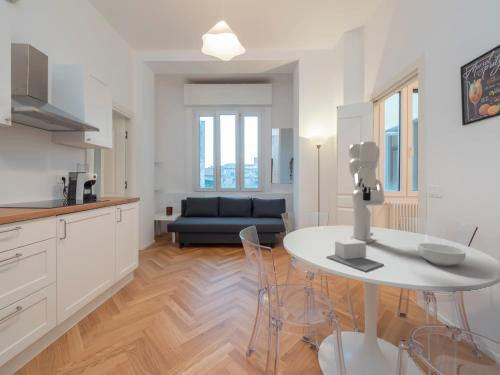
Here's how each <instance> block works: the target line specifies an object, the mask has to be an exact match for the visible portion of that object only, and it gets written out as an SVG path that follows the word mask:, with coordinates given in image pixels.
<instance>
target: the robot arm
mask: <svg viewBox="0 0 500 375" xmlns="http://www.w3.org/2000/svg"><path fill="white" fill-rule="evenodd" d="M380 154H381V153H380V148H379V146H377V144H376V142H375V141H362V142H361V143H354V144H350V146H349V147H348V156H349V158H351V160H350V161H349V163H348V169H349V173H350V176H351V177H352V179H353V188H354V191H353V192H352V195H351V196H352V197H351V198H352V204H353V224H352V225H353V228H352V230H353V231H352V232H353V233H352V236H350V240H352V239H357V240H360V241H363V242H366V244H367V243H368V244H371V243H372V242H373V241H374V239H373V238H372V237H373V236H374V233H373V232H371V215H372V214H371V211H370V210H369V208H368V207H367V206H377V207H378V206H382V205H384V203H385V194H384V188H383V184H382V181H381V180H379V179H377V175H376V174H377V173H376V169H377V168H378V164H379V159H380Z"/></svg>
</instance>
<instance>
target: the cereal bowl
mask: <svg viewBox="0 0 500 375" xmlns="http://www.w3.org/2000/svg"><path fill="white" fill-rule="evenodd" d="M417 247H418V248H417V249H418V251H417V252H418V254H419V255H420V256H421V257H422V258H423V259H425V260H427V261H429V262H430V263H431V264H433V265H437V266H441V267H451V266H454V265H455V266H456V265H459V264H462V263H463V262H464V261H465V259H466V254H467V252H466V251H465V250H464V249H461V248H459V247H455V246H452V245H447V244H441V243H440V244H439V243H432V242H431V243H429V242H428V243H427V242H425V243H424V242H423V243H419V244H418V245H417Z"/></svg>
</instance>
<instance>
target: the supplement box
mask: <svg viewBox="0 0 500 375" xmlns="http://www.w3.org/2000/svg"><path fill="white" fill-rule="evenodd" d="M334 254H335V255H336V256H338V257H340V258H342V259H344V260H346V259H354V258H362V257H363V258H366V257H367V243H366V242H363V241H360V240H357V239H352V240H351V239H343V240H335V241H334Z"/></svg>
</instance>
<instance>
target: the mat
mask: <svg viewBox="0 0 500 375" xmlns="http://www.w3.org/2000/svg"><path fill="white" fill-rule="evenodd" d="M326 258H327V259H328V258H329V260H332V261H335V262H336V263H340V264H343V265H345V266H348V267H350V268H353V269H356V270H359V271H362V272H363V273H367V272H370V271H372V270H375V269H377V268H380V267H383V266H384V263H382V262H379V261H375V260H374V259H373V260H372V259H369V258H366V257H362V258H354V259H346V260H344V259H342V258H340V257H338V256H336V255H335V253H334V254H331V255H329V256H328V255H327V256H326Z"/></svg>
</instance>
